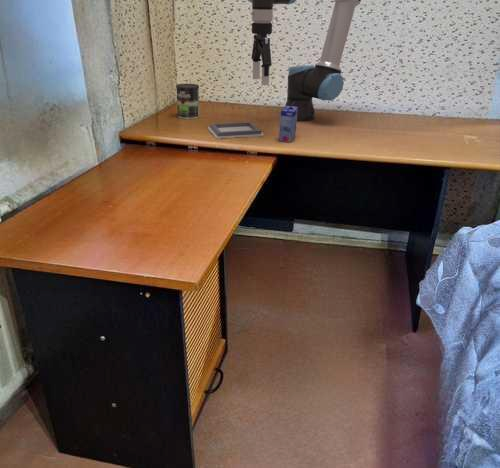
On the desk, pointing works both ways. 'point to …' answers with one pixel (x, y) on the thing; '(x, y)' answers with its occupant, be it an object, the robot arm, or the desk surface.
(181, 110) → the coffee can
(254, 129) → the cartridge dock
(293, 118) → the ink cartridge box
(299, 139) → the desk surface
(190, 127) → the desk surface
